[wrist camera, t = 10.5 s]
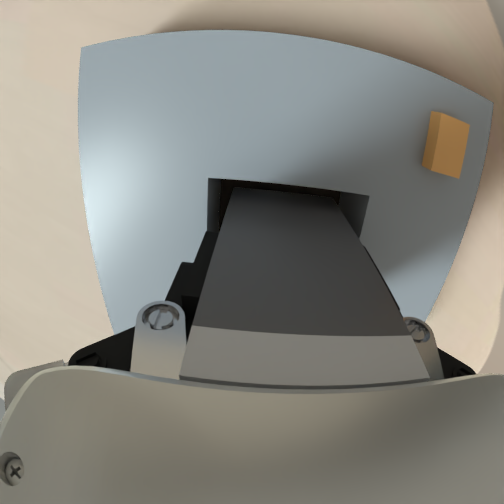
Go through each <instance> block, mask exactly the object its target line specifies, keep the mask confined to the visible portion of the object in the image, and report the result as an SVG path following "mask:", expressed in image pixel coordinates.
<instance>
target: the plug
mask: <svg viewBox="0 0 504 504" xmlns="http://www.w3.org/2000/svg"><path fill="white" fill-rule="evenodd" d="M429 378H430V377H429V374H428V372H427V370H426V367H425V365H424V363H423V360H422V358H421V356H420V354H419V351H418V349H417V347H416V345H415V343H414V341H413V338H412V336H411V334H410V332H409V330H408V328H407V326H406V324H405V322H404V320H403V318H402V316H401V314H400V312H399V310H398V308H397V306H396V304H395V302H394V300H393V298H392V297H391V295H390V293H389V291H388V289H387V287H386V285H385V284H384V282H383V280H382V278H381V276H380V275H379V273H378V271H377V269H376V267H375V266H374V264H373V262H372V260H371V259H370V257H369V255H368V254H367V252H366V250H365V248H364V247H363V245H362V243H361V242H360V240H359V238H358V237H357V235H356V234H355V232H354V230H353V229H352V227H351V225H350V224H349V222H348V221H347V219H346V218H345V216H344V214H343V213H342V211H341V210H340V208H339V207H338V205H337V204H336V202H335V201H334V199H333V198H332V197H325V196H317V195H308V194H300V193H291V192H282V191H272V190H261V189H250V188H238V187H234V188H233V191H232V194H231V197H230V201H229V204H228V207H227V210H226V213H225V216H224V219H223V222H222V226H221V229H220V232H219V235H218V238H217V242H216V245H215V248H214V252H213V255H212V258H211V261H210V265H209V268H208V271H207V275H206V278H205V282H204V285H203V288H202V292H201V295H200V299H199V302H198V306H197V309H196V313H195V317H194V320H193V324H192V327H191V331H190V335H189V338H188V342H187V346H186V349H185V353H184V357H183V361H182V365H181V368H180V372H179V379H180V380H185V381H192V382H200V383H208V384H217V385H227V386H238V387H252V388H270V389H308V390H315V389H353V388H370V387H383V386H395V385H404V384H413V383H421V382H427V381H428V379H429Z"/></svg>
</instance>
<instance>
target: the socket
mask: <svg viewBox="0 0 504 504" xmlns="http://www.w3.org/2000/svg"><path fill="white" fill-rule="evenodd" d="M493 104H494V103H493V102H491V101H489V100H488V99H486V98H484V97H482V96H481V95H479V94H477V93H475V92H473V91H471V90H469V89H467V88H465V87H464V86H461V85H459V84H457V83H455V82H453V81H451V80H449V79H447V78H445V77H442V76H440V75H438V74H435V73H433V72H431V71H428V70H426V69H423V68H421V67H418V66H416V65H413V64H410V63H407V62H405V61H402V60H399V59H396V58H393V57H390V56H387V55H383V54H380V53H377V52H373V51H370V50H366V49H362V48H359V47H355V46H351V45H346V44H342V43H337V42H333V41H328V40H322V39H317V38H311V37H305V36H298V35H291V34H282V33H273V32H261V31H244V30H194V31H177V32H166V33H156V34H148V35H141V36H134V37H128V38H122V39H117V40H112V41H107V42H103V43H98V44H94V45H90V46H86V47H82V48H81V56H80V69H79V88H78V134H79V154H80V167H81V178H82V187H83V196H84V203H85V210H86V217H87V223H88V229H89V235H90V240H91V246H92V251H93V255H94V260H95V265H96V269H97V274H98V278H99V282H100V286H101V290H102V294H103V297H104V301H105V305H106V308H107V312H108V315H109V318H110V322H111V325H112V328H113V331H114V334H118V333H120V332H122V331H125V330H127V329H130V328H132V327H134V326H135V325H136V318H137V314H138V312H139V311H140V309H141V308H142V307H144V306H145V305H147V304H149V303H152V302H155V301H165V298H166V296H167V294H168V291H169V289H170V287H171V284H172V282H173V280H174V278H175V275H176V273H177V271H178V269H179V266H180V264H181V263H182V262H191V263H193V262H194V260H195V257H196V255H197V252H198V250H199V247H200V245H201V242H202V240H203V237H204V235H205V232H206V231H213V232H219V214H220V190H221V179H233V180H246V181H257V182H268V183H278V184H288V185H296V186H305V187H313V188H321V189H328V190H336V191H341V194H340V199H339V204H338V207H339V208H340V210H341V211H342V213H343V214H344V216H345V218H346V219H347V221H348V222H349V224H350V225H351V227H352V229H353V230H354V232H355V234H356V235H357V237H358V238H359V240H360V242H361V243H362V245H363V246H365V247H366V249H367V251H368V252H369V254H370V256H371V257H372V259H373V261H374V262H375V264H376V266H377V268H378V269H379V271H380V273H381V275H382V276H383V278H384V280H385V282H386V284H387V285H388V287H389V289H390V291H391V293H392V294H393V296H394V298H395V300H396V302H397V304H398V306H399V308H400V312H401V314H402V316H403V317H415V318H418V319H420V320H422V321H424V322H425V321H426V319H427V317H428V315H429V313H430V311H431V309H432V307H433V305H434V303H435V301H436V299H437V297H438V295H439V293H440V291H441V288H442V286H443V284H444V282H445V280H446V277H447V275H448V273H449V270H450V268H451V266H452V263H453V261H454V258H455V256H456V253H457V251H458V248H459V246H460V243H461V240H462V238H463V235H464V232H465V229H466V226H467V223H468V220H469V217H470V214H471V211H472V207H473V204H474V201H475V197H476V194H477V190H478V186H479V182H480V178H481V174H482V170H483V166H484V161H485V156H486V151H487V146H488V140H489V134H490V128H491V121H492V113H493Z"/></svg>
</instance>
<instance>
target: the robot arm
mask: <svg viewBox="0 0 504 504" xmlns="http://www.w3.org/2000/svg"><path fill="white" fill-rule="evenodd" d="M218 235H219V232H213V231H206V232H205V235H204V237H203V240H202V242H201V245H200V247H199V250H198V252H197V255H196V257H195V260H194V262H193V263H191V262H182V263H181V264H180V266H179V269H178V271H177V273H176V275H175V278H174V280H173V282H172V284H171V287H170V289H169V291H168V294H167V296H166V298H165V301H155V302H152V303H149V304H147V305H145V306H144V307H142V308H141V309H140V311H139V312H138V314H137V318H136V325H135V326H134V327H132V328H130V329H127V330H125V331H122V332H120V333H118V334H115V335H113V336H111V337H108V338H106V339H103V340H101V341H99V342H96V343H94V344H91V345H89V346H87V347H84V348H82V349H80V350H78V351H77V352H75V353H74V354H73V355H72V357H71V358H70V360H69V362H67V363H64V361H63V360H59V361H56V362H52V363H48V364H44V365H40V366H36V367H32V368H28V369H24V370H20V371H17V372H15V373H12V374H11V375H10V376H9V377H8V379H7V381H6V382H5V387H4V395H5V409H6V412H5V414H4V416H3V418H2V420H1V422H0V504H504V375H502V374H492V373H489V374H476V373H475V372H474V371H473V369H471V368H470V367H469V366H467V365H466V364H464V363H462V362H461V361H459V360H457V359H456V358H454V357H452V356H451V355H449V354H447V353H446V352H444V351H442V350H441V349H439V348H437V345H436V341H435V337H434V334H433V332H432V329H431V328H430V327H429V326H428V325H427V324H426V323H425V322H424V321H422V320H420V319H418V318H415V317H403V316H402V314H401V312H400V308H399V306H398V304H397V302H396V300H395V298H394V296H393V294H392V293H391V291H390V289H389V287H388V285H387V284H386V282H385V280H384V278H383V276H382V275H381V273H380V271H379V269H378V268H377V266H376V264H375V262H374V261H373V259H372V257H371V256H370V254H369V252H368V251H367V249H366V247H365V246H363V247H364V248H365V250H366V252H367V254H368V255H369V257H370V259H371V260H372V262H373V264H374V266H375V267H376V269H377V271H378V273H379V275H380V276H381V278H382V280H383V282H384V284H385V285H386V287H387V289H388V291H389V293H390V295H391V297H392V298H393V300H394V302H395V304H396V306H397V308H398V310H399V312H400V314H401V316H402V318H403V320H404V322H405V324H406V326H407V328H408V330H409V332H410V334H411V336H412V338H413V341H414V343H415V345H416V347H417V349H418V351H419V354H420V356H421V358H422V360H423V363H424V365H425V367H426V370H427V372H428V374H429V377H430V378H429V379H428V381H427V382H421V383H413V384H404V385H395V386H383V387H370V388H353V389H315V390H308V389H270V388H252V387H238V386H227V385H217V384H208V383H200V382H192V381H185V380H180V379H179V372H180V368H181V365H182V361H183V357H184V353H185V349H186V346H187V342H188V338H189V335H190V331H191V327H192V324H193V320H194V317H195V313H196V309H197V306H198V302H199V299H200V295H201V292H202V288H203V285H204V282H205V278H206V275H207V271H208V268H209V265H210V261H211V258H212V255H213V252H214V248H215V245H216V242H217V238H218Z"/></svg>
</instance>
